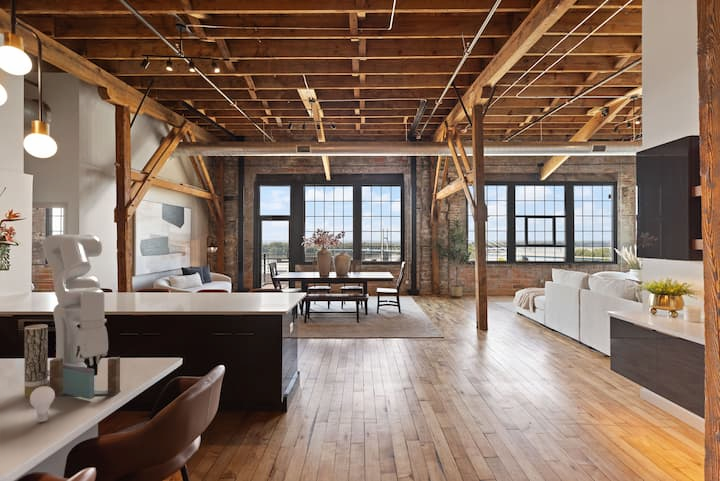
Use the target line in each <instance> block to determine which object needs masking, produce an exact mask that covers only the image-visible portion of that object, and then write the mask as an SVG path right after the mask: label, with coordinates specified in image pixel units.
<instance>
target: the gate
mask: <svg viewBox="0 0 720 481" xmlns="http://www.w3.org/2000/svg"><path fill="white" fill-rule="evenodd" d="M94 391H95V376H94V369H92V368H87V366H84V367H81V366H76V365H71V364H64V365H63V393H65V394H69V395H73V396H77V398H78V397H79V398H81V399H86V400H91V399H95V396H94Z"/></svg>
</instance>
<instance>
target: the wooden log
mask: <svg viewBox="0 0 720 481" xmlns="http://www.w3.org/2000/svg"><path fill="white" fill-rule="evenodd" d="M48 328H49V327H48V324H43V323H41V324H40V323H39V324H31V325H27V326H26V325H25V327H24V375H23V376H24V382H23V383H24V396H25V398H29V399H30V395H31V393H32V392H33V391H34V390H35V389H36V388H38V387H41V386H48V383H49V381H48V377H49V376H48V370H49V369H48V368H49V366H48V363H49V362H48V358H49V357H48V355H49V354H48V352H49V351H48V349H49V348H48V347H49V346H48V342H49V340H48V339H49V338H48V332H49V330H48ZM48 387H49V386H48Z"/></svg>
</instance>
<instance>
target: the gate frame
mask: <svg viewBox="0 0 720 481" xmlns="http://www.w3.org/2000/svg"><path fill="white" fill-rule="evenodd" d="M49 370H50V376H49V387H51V388H52V389H53V390H54V392H55V398H66V397H67V398H69V397H71V398H72V397H73V398H74V397H77V396H73V395H69V394H65V393H63V358H56V357H54V358H53V359H50V360H49ZM121 392H122V391H121V356H111V357H109V358H107V390H94V397H100V396H101V397H102V396H105V397H107V396H116V395H118V394H119V393H121ZM77 398H78V397H77Z"/></svg>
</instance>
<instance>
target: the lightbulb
mask: <svg viewBox="0 0 720 481" xmlns="http://www.w3.org/2000/svg"><path fill="white" fill-rule="evenodd" d="M55 398H56V397H55V392H54V390H53V389H52V388H51V387H50V386H41V387H38V388H36V389H35V390H34V391H33V392H32V393H31V395H30V398H29V402H30V404H31V406H32V407H34V409H35V413H36V415H37V422H38V423H41V424H42V423H45V422H47V421H48V420H49V418H48V417H49V415H48V414H49V413H48V412H49V410H50V407H51V405H52V404H53V402H54V400H55Z"/></svg>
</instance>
